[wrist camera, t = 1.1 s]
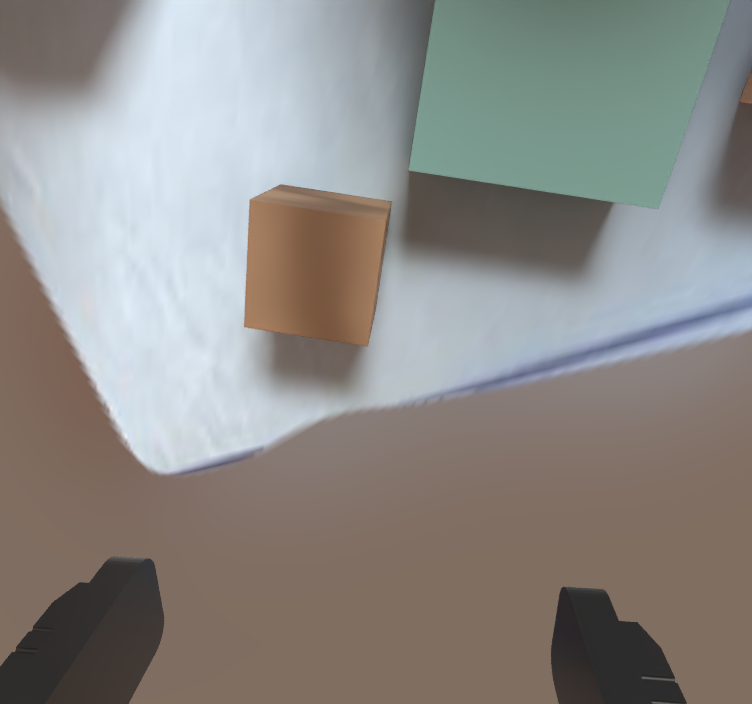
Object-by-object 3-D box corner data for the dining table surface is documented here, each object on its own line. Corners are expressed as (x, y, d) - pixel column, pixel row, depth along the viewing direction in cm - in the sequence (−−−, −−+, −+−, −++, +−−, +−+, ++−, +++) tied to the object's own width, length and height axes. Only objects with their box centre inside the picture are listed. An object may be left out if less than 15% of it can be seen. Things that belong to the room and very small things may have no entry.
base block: (409, 161, 26) (408, 170, 21) (449, -96, 22) (459, -153, 17) (615, 193, 26) (658, 209, 21) (693, -59, 22) (767, -107, 17)
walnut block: (274, 290, 29) (244, 326, 24) (281, 184, 27) (249, 199, 22) (376, 306, 29) (367, 346, 24) (391, 201, 27) (386, 220, 22)
